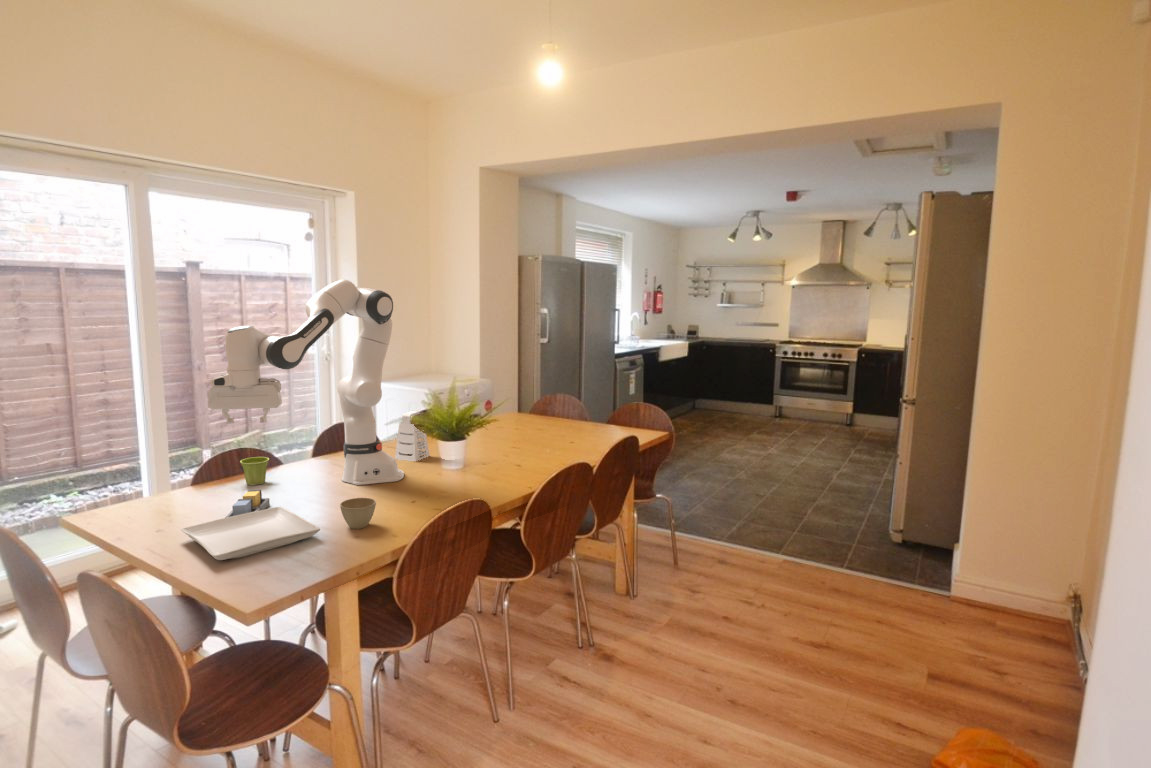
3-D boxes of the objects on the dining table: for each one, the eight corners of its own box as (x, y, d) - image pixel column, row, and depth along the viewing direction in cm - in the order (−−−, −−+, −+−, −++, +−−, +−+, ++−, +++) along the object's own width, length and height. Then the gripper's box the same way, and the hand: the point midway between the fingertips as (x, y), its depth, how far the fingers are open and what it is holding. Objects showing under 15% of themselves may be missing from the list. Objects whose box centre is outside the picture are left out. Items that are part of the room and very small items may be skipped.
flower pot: (343, 534, 172) (342, 510, 171) (339, 523, 181) (338, 500, 180) (379, 528, 177) (378, 505, 176) (373, 518, 185) (372, 495, 184)
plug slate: (253, 512, 186) (252, 498, 185) (246, 519, 180) (245, 504, 179) (239, 513, 185) (238, 499, 184) (232, 520, 179) (232, 505, 178)
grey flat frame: (269, 504, 196) (269, 498, 196) (252, 524, 179) (251, 516, 179) (244, 506, 195) (243, 499, 195) (224, 525, 177) (223, 518, 177)
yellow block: (262, 503, 195) (261, 489, 194) (256, 509, 189) (255, 495, 188) (249, 504, 194) (248, 490, 193) (243, 510, 188) (242, 496, 187)
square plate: (214, 570, 148) (213, 554, 148) (180, 540, 166) (179, 527, 166) (322, 539, 168) (321, 526, 168) (281, 516, 186) (280, 504, 186)
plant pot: (275, 479, 224) (274, 457, 223) (260, 487, 215) (258, 463, 214) (251, 478, 225) (250, 456, 224) (235, 486, 216) (234, 462, 215)
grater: (429, 456, 263) (429, 411, 260) (415, 462, 253) (414, 415, 250) (409, 454, 266) (408, 409, 264) (394, 459, 257) (393, 413, 254)
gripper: (283, 376, 191) (285, 419, 192) (212, 378, 186) (215, 421, 188) (277, 379, 184) (280, 423, 186) (204, 380, 180) (207, 425, 182)
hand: (247, 422), depth 187 cm, fingers open, 8 cm apart
